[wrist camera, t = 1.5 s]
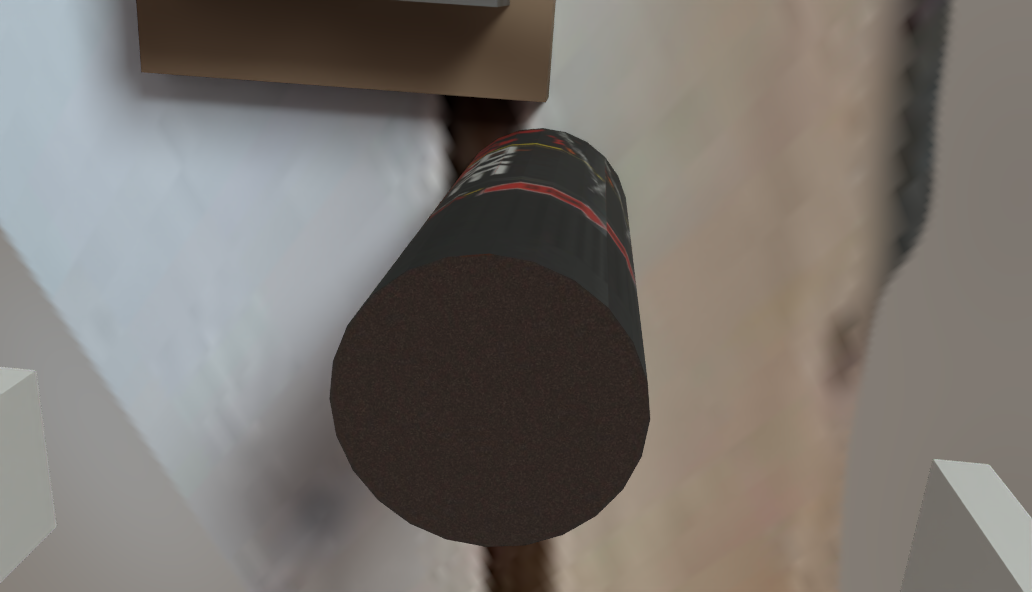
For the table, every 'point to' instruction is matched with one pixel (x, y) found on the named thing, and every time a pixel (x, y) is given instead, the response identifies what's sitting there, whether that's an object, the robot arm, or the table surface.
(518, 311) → the deodorant
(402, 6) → the socket stand
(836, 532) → the table surface
